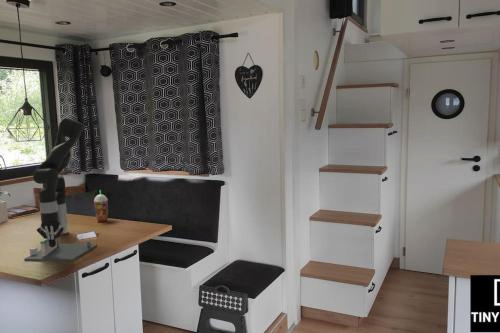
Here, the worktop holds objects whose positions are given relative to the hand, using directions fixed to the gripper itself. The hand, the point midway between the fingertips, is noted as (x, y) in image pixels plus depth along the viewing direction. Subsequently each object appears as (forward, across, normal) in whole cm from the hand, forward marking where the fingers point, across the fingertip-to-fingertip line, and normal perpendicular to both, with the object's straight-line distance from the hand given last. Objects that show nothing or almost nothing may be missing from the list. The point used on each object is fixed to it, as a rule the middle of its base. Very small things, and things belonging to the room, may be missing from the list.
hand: (52, 246), depth 205 cm
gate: (+4, +4, -5) cm, 7 cm away
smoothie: (+6, -2, -69) cm, 69 cm away
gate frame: (+5, -1, -6) cm, 8 cm away
